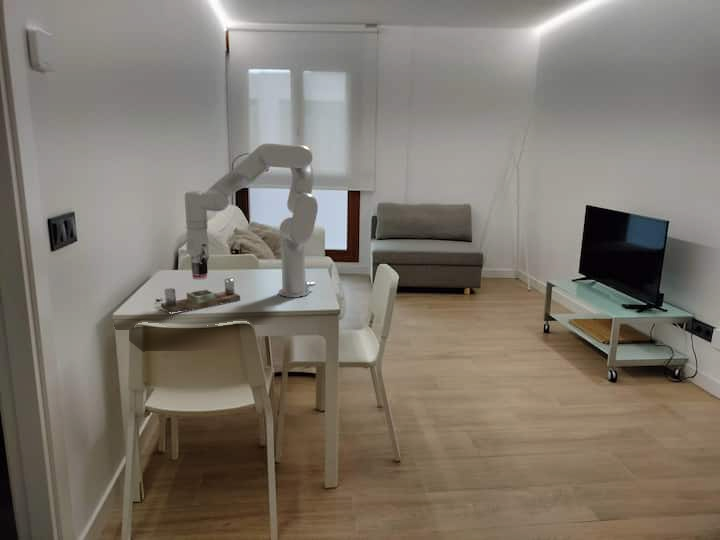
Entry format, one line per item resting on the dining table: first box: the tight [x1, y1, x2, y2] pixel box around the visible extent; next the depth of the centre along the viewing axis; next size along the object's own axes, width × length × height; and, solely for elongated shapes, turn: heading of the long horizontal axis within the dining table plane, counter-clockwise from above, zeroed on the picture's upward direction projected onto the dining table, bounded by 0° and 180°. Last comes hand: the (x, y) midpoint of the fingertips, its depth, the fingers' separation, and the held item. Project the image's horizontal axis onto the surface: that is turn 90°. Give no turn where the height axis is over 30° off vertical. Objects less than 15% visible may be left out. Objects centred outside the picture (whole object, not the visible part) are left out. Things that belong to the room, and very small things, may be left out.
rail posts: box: [164, 277, 235, 307], centre depth 204 cm, size 28×4×6 cm, turn 131°
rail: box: [160, 288, 241, 313], centre depth 205 cm, size 28×9×4 cm, turn 131°
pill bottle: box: [191, 254, 208, 280], centre depth 202 cm, size 5×5×10 cm
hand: (199, 271), depth 203 cm, fingers closed on pill bottle, 5 cm apart
